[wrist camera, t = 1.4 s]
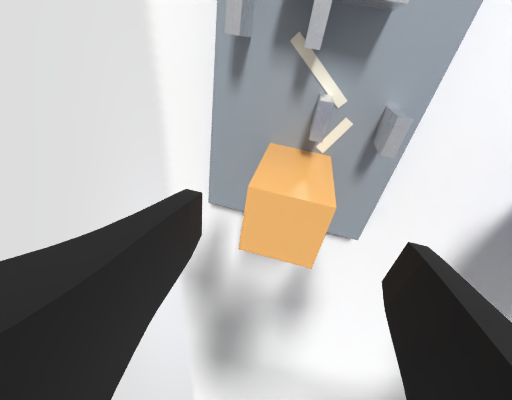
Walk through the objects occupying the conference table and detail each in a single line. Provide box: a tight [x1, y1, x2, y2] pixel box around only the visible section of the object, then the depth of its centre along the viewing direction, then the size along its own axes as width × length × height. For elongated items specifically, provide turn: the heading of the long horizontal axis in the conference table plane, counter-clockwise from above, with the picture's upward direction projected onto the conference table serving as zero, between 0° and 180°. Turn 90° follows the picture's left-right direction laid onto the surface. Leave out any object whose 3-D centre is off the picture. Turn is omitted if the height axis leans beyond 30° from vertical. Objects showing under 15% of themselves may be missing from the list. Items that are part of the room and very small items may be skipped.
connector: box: [239, 143, 337, 269], centre depth 14 cm, size 4×4×6 cm
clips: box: [225, 0, 414, 158], centre depth 12 cm, size 6×9×2 cm, turn 81°
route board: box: [208, 0, 483, 240], centre depth 14 cm, size 21×12×1 cm, turn 171°
